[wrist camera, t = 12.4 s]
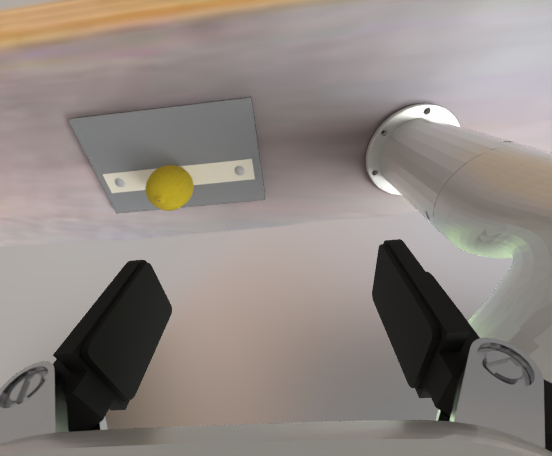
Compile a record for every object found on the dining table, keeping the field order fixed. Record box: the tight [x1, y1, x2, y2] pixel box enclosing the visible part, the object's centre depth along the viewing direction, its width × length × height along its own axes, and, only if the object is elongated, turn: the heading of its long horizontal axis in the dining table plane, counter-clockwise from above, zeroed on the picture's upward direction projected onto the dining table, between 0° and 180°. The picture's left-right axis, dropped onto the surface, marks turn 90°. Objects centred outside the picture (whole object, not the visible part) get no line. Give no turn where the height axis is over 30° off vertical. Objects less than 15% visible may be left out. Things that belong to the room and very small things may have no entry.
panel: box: [68, 97, 265, 214], centre depth 35 cm, size 24×14×2 cm, turn 96°
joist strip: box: [102, 159, 255, 193], centre depth 36 cm, size 22×3×1 cm, turn 96°
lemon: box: [145, 165, 194, 211], centre depth 32 cm, size 6×6×8 cm
